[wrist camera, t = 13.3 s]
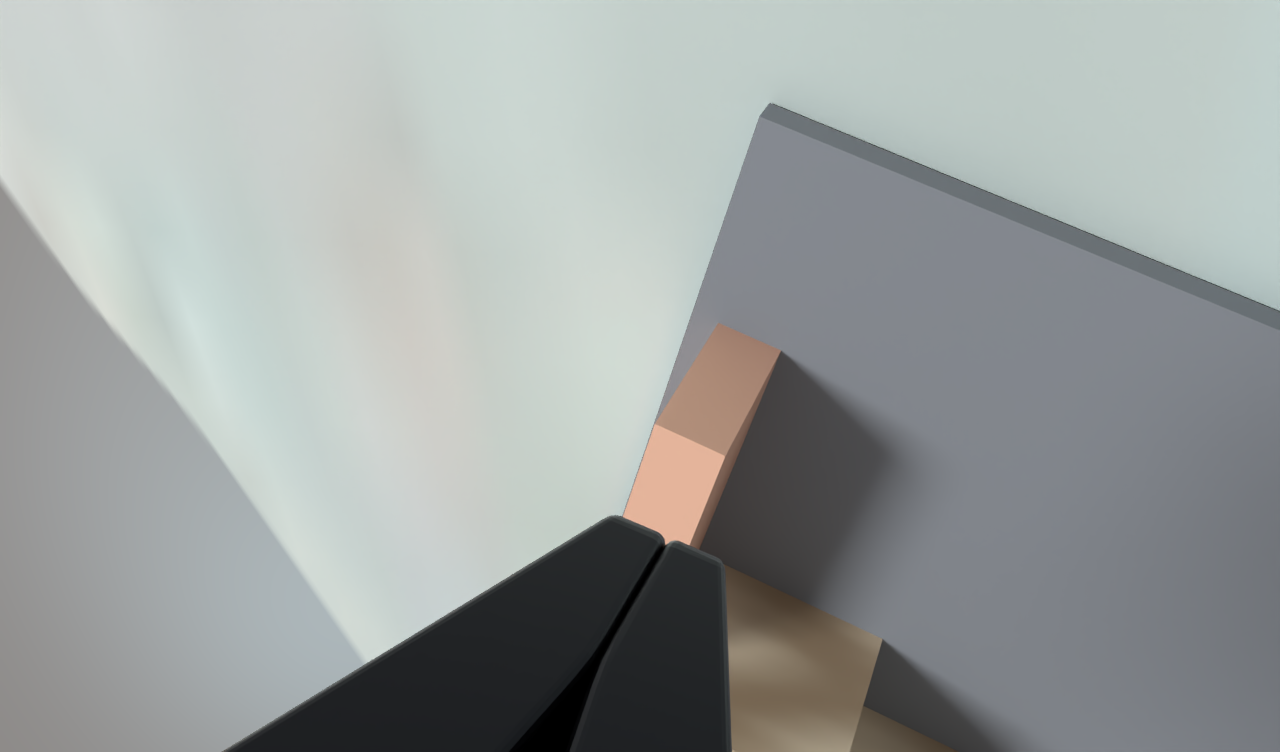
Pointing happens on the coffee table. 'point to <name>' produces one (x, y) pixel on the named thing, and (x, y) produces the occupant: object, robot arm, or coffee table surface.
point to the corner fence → (700, 437)
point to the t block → (803, 678)
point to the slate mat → (1001, 456)
